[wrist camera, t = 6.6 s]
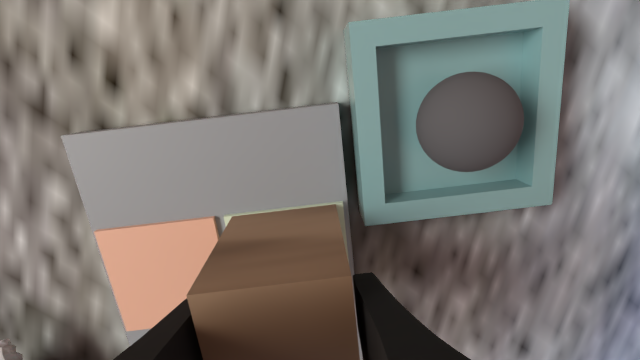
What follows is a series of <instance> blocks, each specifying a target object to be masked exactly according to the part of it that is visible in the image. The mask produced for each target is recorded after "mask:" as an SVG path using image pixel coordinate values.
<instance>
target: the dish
mask: <svg viewBox="0 0 640 360" xmlns="http://www.w3.org/2000/svg"><path fill="white" fill-rule="evenodd" d="M569 2H570V0H535V1H526V2H518V3H509V4H501V5H492V6H484V7H475V8H467V9H458V10H449V11H441V12H432V13H424V14H415V15H407V16H398V17H390V18H381V19H373V20H364V21H356V22H349V23H348V24H347V26H346V27H345V29H344V40H345V52H346V64H347V76H348V87H349V99H350V111H351V122H352V134H353V146H354V158H355V169H356V181H357V193H358V204H359V212H360V214H361V217H362V219H363V222H364V225H365V226H372V225H380V224H389V223H398V222H406V221H415V220H423V219H432V218H441V217H449V216H458V215H466V214H475V213H483V212H492V211H501V210H509V209H518V208H526V207H535V206H543V205H552V200H553V188H554V177H555V165H556V154H557V142H558V130H559V119H560V107H561V95H562V84H563V72H564V61H565V49H566V37H567V26H568V14H569ZM464 72H484V73H488V74H491V75H494V76H496V77H499V78H500V79H502V80H504V81H505V82H506V83H508V84H509V85H510V86H511V87H512V88H513V89H514V90H515V92H516V93H517V95H518V97H519V99H520V101H521V103H522V107H523V111H524V126H523V130H522V134H521V136H520V139H519V141H518V143H517V144H516V146H515V147H514V149H513V150H512V151H511V152H510V154H509V155H508V156H507V157H505V158H504V159H503V160H502V161H500V162H499V163H497V164H495V165H493V166H491V167H489V168H487V169H483V170H480V171H474V172H458V171H453V170H449V169H447V168H444V167H442V166H440V165H438V164H437V163H435V162H434V161H433V160H432V159H430V158H429V157H428V156H427V154H426V153H425V152H424V151H423V149H422V147H421V145H420V143H419V140H418V137H417V133H416V118H417V113H418V110H419V107H420V105H421V103H422V101H423V99H424V97H425V96H426V95H427V93H428V92H429V91H430V90H431V89H432V88H433V87H434V86H435V85H437V84H438V83H439V82H441V81H442V80H444V79H446V78H448V77H450V76H452V75H455V74H459V73H464Z"/></svg>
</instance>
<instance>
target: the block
mask: <svg viewBox="0 0 640 360" xmlns="http://www.w3.org/2000/svg"><path fill="white" fill-rule="evenodd" d="M186 296H187V300H188V304H189V308H190V311H191V315H192V319H193V323H194V327H195V331H196V334H197V338H198V342H199V346H200V350H201V353H202V357H203V360H360V355H359V345H358V335H357V325H356V315H355V306H354V296H353V286H352V276H351V271H350V267H349V262H348V258H347V253H346V249H345V244H344V239H343V235H342V230H341V226H340V221H339V217H338V212H337V208H336V204H332V205H324V206H315V207H307V208H299V209H290V210H282V211H273V212H265V213H257V214H248V215H240V216H232V217H231V219H230V221H229V223H228V224H227V226H226V228H225V229H224V231H223V233H222V235H221V236H220V238H219V240H218V242H217V243H216V245H215V247H214V248H213V250H212V252H211V254H210V255H209V257H208V259H207V261H206V262H205V264H204V266H203V267H202V269H201V271H200V273H199V274H198V276H197V278H196V280H195V281H194V283H193V285H192V286H191V288H190V290H189V292H188V293H187V295H186Z"/></svg>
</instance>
